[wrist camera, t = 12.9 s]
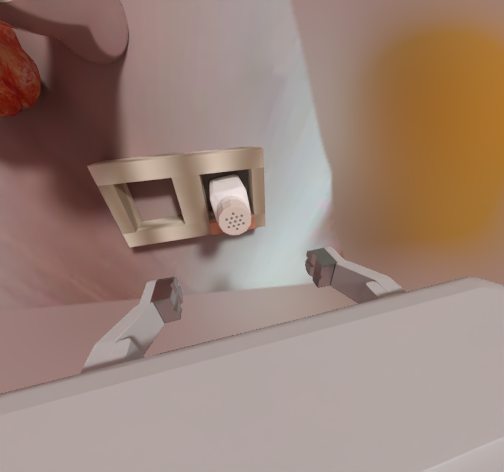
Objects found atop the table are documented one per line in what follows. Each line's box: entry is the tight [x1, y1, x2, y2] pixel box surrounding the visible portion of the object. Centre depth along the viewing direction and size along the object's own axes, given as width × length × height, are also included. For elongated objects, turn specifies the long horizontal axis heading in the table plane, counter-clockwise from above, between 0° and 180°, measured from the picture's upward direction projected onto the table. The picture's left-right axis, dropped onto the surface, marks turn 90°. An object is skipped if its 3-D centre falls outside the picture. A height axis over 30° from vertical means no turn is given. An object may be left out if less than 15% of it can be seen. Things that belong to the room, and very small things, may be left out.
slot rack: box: [87, 146, 265, 247], centre depth 23 cm, size 18×10×3 cm, turn 94°
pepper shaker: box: [209, 174, 251, 235], centre depth 21 cm, size 4×4×10 cm
